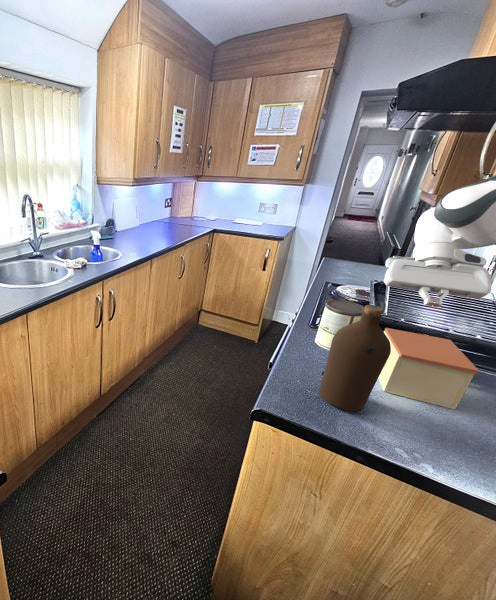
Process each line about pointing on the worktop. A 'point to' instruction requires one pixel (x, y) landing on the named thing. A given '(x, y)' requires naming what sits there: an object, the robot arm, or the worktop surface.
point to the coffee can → (336, 319)
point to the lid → (429, 350)
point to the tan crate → (423, 380)
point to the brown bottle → (355, 361)
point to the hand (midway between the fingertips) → (432, 305)
